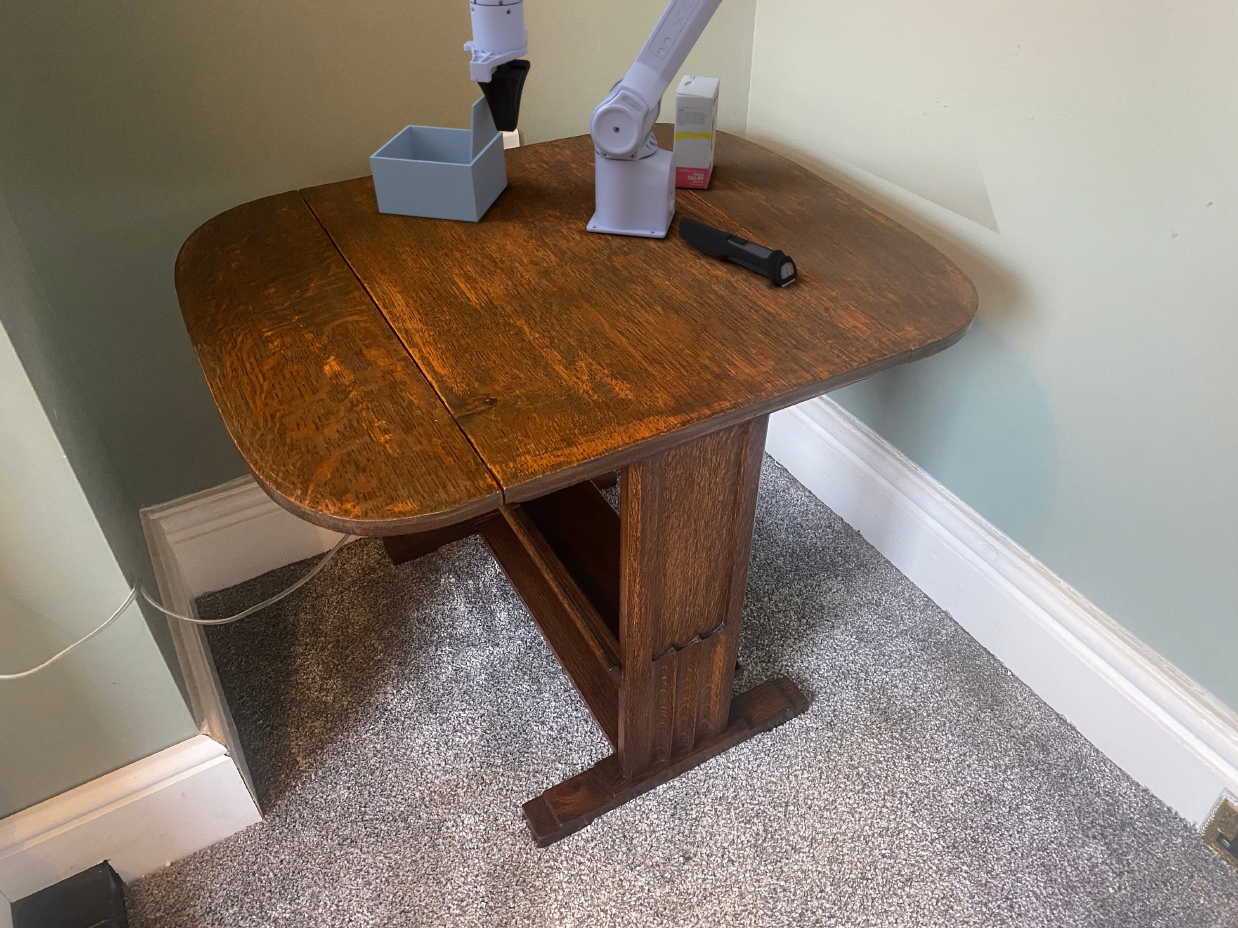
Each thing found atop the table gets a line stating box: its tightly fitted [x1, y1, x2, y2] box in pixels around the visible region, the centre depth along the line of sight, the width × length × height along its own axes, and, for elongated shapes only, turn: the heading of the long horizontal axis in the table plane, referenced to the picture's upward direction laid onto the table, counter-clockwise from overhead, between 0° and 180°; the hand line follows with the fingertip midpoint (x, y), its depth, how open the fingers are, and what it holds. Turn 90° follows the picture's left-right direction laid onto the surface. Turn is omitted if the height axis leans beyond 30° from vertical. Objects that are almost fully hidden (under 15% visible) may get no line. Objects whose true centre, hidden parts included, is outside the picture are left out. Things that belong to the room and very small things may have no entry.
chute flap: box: [470, 94, 501, 160], centre depth 101 cm, size 6×12×1 cm
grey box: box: [368, 124, 508, 223], centre depth 107 cm, size 13×12×7 cm
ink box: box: [672, 74, 721, 190], centre depth 111 cm, size 9×5×12 cm, turn 169°
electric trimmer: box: [678, 216, 798, 288], centre depth 95 cm, size 4×16×3 cm, turn 45°
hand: (506, 129), depth 100 cm, fingers closed
